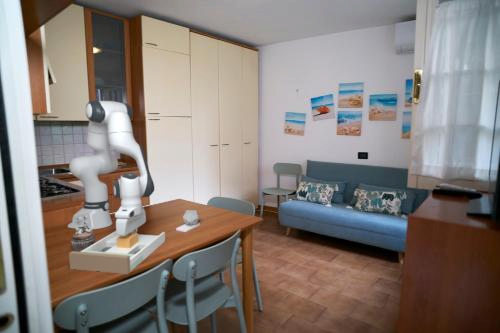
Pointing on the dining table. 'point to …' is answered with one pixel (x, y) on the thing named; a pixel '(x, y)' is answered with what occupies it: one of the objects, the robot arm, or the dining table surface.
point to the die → (191, 217)
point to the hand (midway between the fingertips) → (133, 238)
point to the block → (127, 240)
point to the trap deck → (115, 254)
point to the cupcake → (82, 238)
